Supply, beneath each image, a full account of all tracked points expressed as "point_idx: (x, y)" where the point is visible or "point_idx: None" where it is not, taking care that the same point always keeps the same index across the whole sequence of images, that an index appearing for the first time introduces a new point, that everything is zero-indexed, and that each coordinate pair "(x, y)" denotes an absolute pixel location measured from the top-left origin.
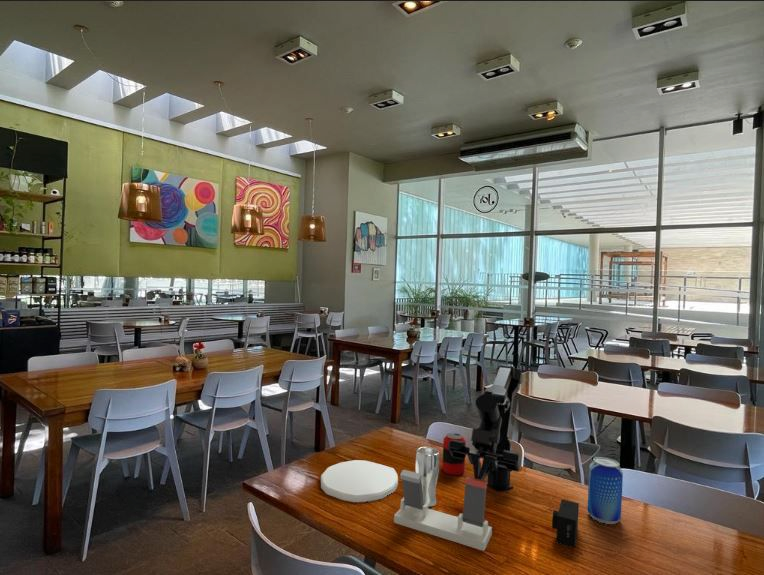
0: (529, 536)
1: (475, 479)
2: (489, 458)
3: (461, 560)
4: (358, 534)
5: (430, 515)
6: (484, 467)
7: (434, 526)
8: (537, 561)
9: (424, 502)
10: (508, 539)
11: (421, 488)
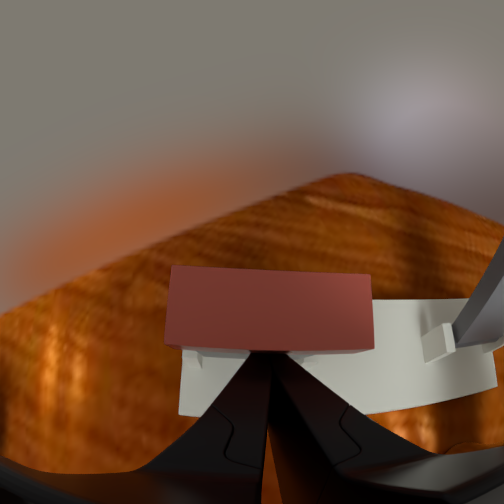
0: (62, 451)
1: (282, 307)
2: (52, 481)
3: (247, 235)
4: (475, 227)
5: (416, 363)
6: (210, 450)
7: (375, 304)
8: (46, 320)
9: (462, 447)
10: (122, 409)
11: (497, 275)
